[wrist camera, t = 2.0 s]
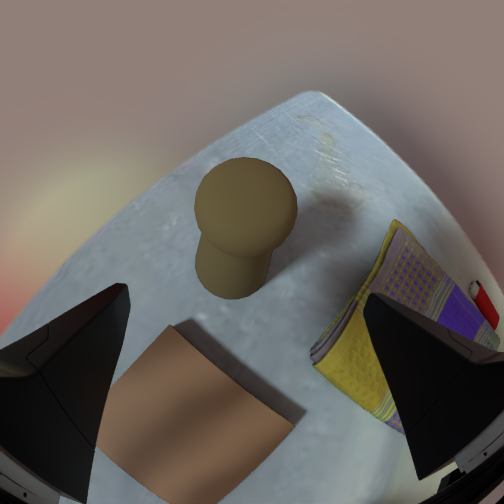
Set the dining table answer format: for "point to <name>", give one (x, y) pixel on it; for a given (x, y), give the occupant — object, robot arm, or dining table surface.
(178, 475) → the walnut board
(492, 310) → the lighter
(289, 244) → the dining table surface
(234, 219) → the olive brown peg figure
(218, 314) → the dining table surface
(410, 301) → the dish towel
